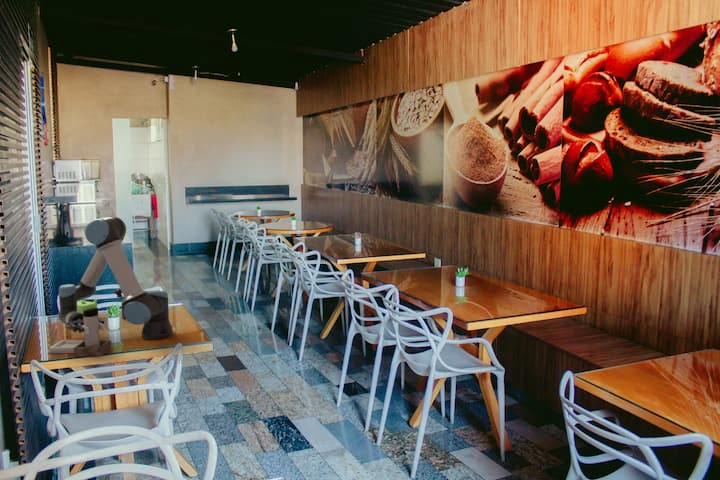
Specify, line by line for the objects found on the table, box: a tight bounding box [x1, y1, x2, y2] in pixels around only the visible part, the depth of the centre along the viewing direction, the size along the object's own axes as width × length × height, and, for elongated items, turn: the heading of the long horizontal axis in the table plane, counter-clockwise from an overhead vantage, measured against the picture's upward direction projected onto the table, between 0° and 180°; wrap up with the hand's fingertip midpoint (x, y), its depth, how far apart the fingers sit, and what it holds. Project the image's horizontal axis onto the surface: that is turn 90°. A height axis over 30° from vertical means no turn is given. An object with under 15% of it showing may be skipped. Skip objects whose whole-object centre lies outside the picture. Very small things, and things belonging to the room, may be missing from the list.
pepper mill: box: [114, 288, 126, 320], centre depth 326 cm, size 16×11×18 cm
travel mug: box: [83, 307, 101, 347], centre depth 268 cm, size 6×7×20 cm
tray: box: [48, 339, 85, 354], centre depth 274 cm, size 12×12×2 cm
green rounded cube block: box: [77, 299, 98, 314], centre depth 323 cm, size 15×14×11 cm
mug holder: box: [73, 339, 113, 358], centre depth 269 cm, size 12×12×4 cm
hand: (96, 329), depth 264 cm, fingers closed on travel mug, 6 cm apart
